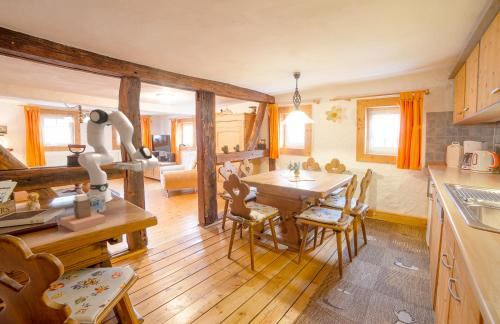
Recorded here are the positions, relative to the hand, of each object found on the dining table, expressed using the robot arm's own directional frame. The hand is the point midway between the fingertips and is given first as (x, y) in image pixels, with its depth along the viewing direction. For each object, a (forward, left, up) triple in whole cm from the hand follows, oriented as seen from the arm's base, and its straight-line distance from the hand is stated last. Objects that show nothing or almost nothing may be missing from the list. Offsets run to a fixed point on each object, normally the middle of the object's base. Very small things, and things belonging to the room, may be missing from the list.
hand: (117, 167), depth 159 cm
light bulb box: (-12, -10, -30) cm, 34 cm away
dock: (+4, -24, -30) cm, 39 cm away
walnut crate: (+4, -24, -26) cm, 36 cm away
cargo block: (+4, -24, -16) cm, 29 cm away
